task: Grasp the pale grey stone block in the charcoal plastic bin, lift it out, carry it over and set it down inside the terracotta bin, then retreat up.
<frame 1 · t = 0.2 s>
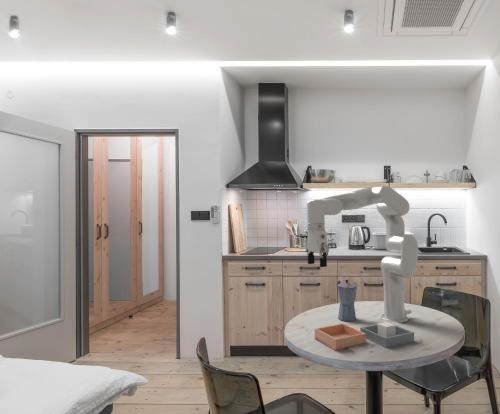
hand: (317, 265, 165), 31 cm above the table, tool pointing down, fingers open, 9 cm apart
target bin: (339, 341, 155), on the table
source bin: (386, 340, 155), on the table
stone block: (386, 338, 155), point 1 cm above the table, touching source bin
moka pot: (346, 319, 186), on the table
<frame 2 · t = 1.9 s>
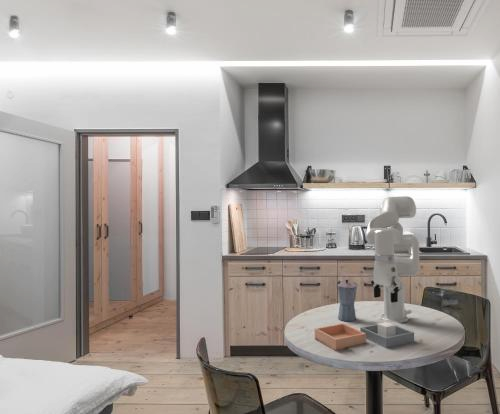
hand: (385, 299, 155), 17 cm above the table, tool pointing down, fingers open, 9 cm apart
nothing on the table moved.
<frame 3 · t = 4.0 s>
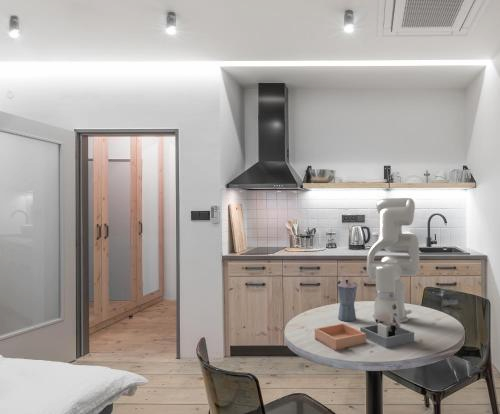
hand: (386, 337, 155), 1 cm above the table, tool pointing down, fingers closed on stone block, 5 cm apart
stone block: (386, 338, 155), point 1 cm above the table, touching gripper, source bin
everything else where it was.
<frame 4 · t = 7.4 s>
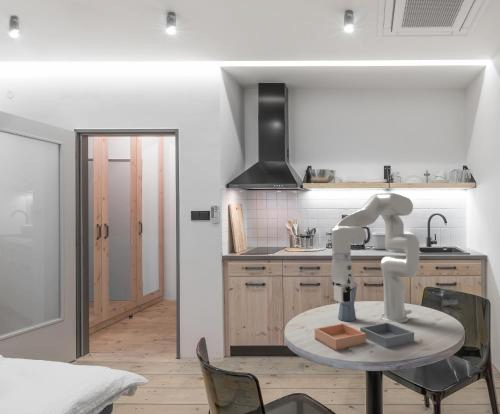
hand: (342, 299, 155), 18 cm above the table, tool pointing down, fingers closed on stone block, 5 cm apart
stone block: (342, 300, 155), point 17 cm above the table, touching gripper
everything else where it was.
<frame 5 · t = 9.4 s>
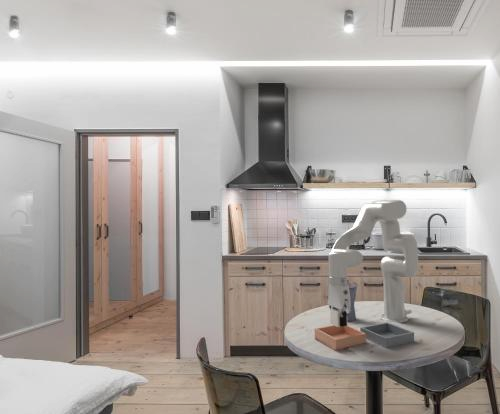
hand: (339, 323, 155), 8 cm above the table, tool pointing down, fingers closed on stone block, 5 cm apart
stone block: (339, 324, 155), point 7 cm above the table, touching gripper
everything else where it was.
when the fingers open (4 cm above the table, at t = 11.0 s): stone block drops 3 cm, resting on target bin.
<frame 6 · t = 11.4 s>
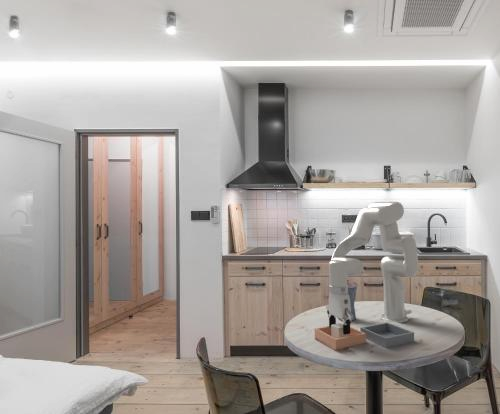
hand: (339, 330, 155), 5 cm above the table, tool pointing down, fingers open, 9 cm apart
stone block: (339, 339, 155), point 1 cm above the table, touching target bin
everything else where it was.
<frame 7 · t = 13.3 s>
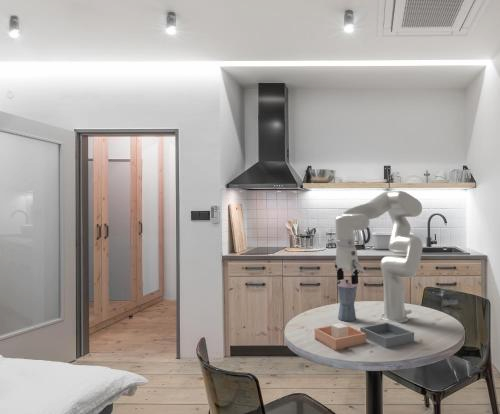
hand: (347, 281, 163), 23 cm above the table, tool pointing down, fingers open, 9 cm apart
nothing on the table moved.
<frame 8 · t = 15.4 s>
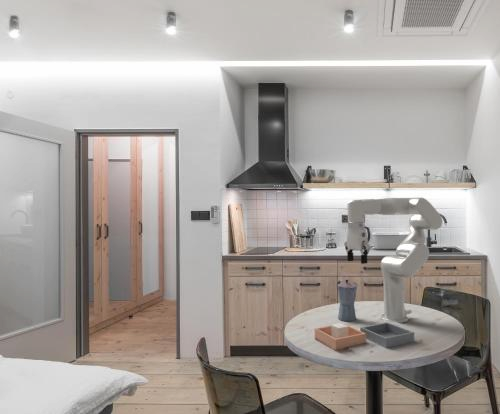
hand: (357, 262, 174), 30 cm above the table, tool pointing down, fingers open, 9 cm apart
nothing on the table moved.
at the end: stone block inside the target area on the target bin (0.1 cm from its centre), point 0.8 cm above the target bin's base; the gripper is holding nothing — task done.
